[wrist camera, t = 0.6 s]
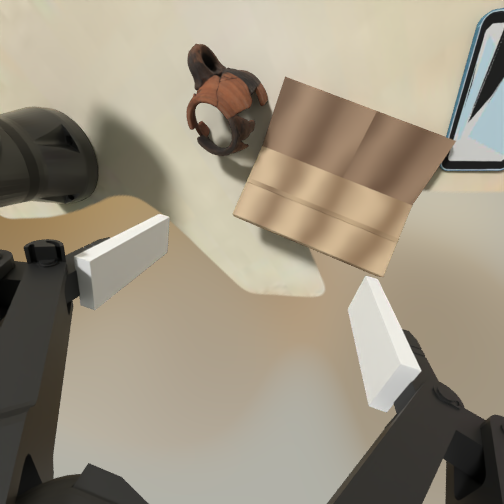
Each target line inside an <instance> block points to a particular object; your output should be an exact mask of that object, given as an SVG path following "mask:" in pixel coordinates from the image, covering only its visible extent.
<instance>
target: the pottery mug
mask: <svg viewBox="0 0 504 504" xmlns="http://www.w3.org/2000/svg"><path fill="white" fill-rule="evenodd" d="M188 66H189V69H190V72H191V74H192V76H193V78H194V82H195V89H196V90H198V91H197V94H195V93H194V95H193V98H192V99H191V101H190V102H189V105H188V107H187V121H188V125H189V128H190V129H191V130H192V129H194V128H196V130H197V132H198V134H199V135H200V137H198V138H197V140H198V143H199V144H200V145H201V146H202V147H203V148H204V149H205V150H207V151H208V152H210V153H212V154H214V155H219V156H226V155H229V154H232V153H236V152H238V151H241V150H243V149H245V148H247V147H249V145H248V144H244V143H243V142H242V140H245V139H246V138H247V137H248V136H249V135H250V133H251V132H252V131H253V130H254V128H255V121H254V120H250V121H248V120H246V119H244V118H242V117H240V116H239V115H237V114H238V113H240V112H242V111H243V110H245V109H248V108H250V107H251V104H252V98H251V95H252V94H253V92H254V91H255V92H256V94H257V97H258V99H259V102H260V105H261V106H263V105H265V103H266V102H267V100H268V98H267V94H266V91H265V89H264V87H263V85H262V84H261V82H260V81H259V79H258V78H257V77H256V76H255V75H253V74H251V73H250V72H248V71H244V70H236V69H230V68H227V69H226V67H224V66H223V65H222V64H221V63H220V62H219V61H218V59H217V57H216V56H215V54H214V53H213V52H212V51H211V50H210V49H209V48H208V47H207V46H206V45H203V44H195V45H194V46H193V47H192V49H191V50H190V51H189V53H188ZM199 103H208V104H211V105H213V106H215V107H217V108H218V109H219V110H220V111H221V112H222V113H223V115H224V116H225V117H226V119H227V120H228V122H229V125H230V127H231V131H232V142H231V144H230V146H229V147H227V148H220V147H218V146H216V145H215V144H214V143H213V142H212V141H211V140H210V138H209V137H208V135H209V131H210V130H209V128H208V127H207V125H206V124H205V123H204V122H203V121H201V122H199V124H198V123H197V120H196V116H195V109H196V106H197V105H198V104H199Z"/></svg>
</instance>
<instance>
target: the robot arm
mask: <svg viewBox="0 0 504 504" xmlns="http://www.w3.org/2000/svg"><path fill="white" fill-rule="evenodd" d="M97 178H98V167H97V161H96V157H95V154H94V151H93V148H92V146H91V144H90V142H89V140H88V138H87V137H86V135H85V134H84V132H83V131H82V130H81V129H80V127H79V126H78V125H77V124H76V123H75V122H74V121H73V120H72V119H70V118H69V117H68V116H66V115H65V114H63V113H61V112H59V111H57V110H54V109H50V108H42V107H26V108H22V109H18V110H15V111H11V112H7V113H3V114H0V207H4V206H8V205H13V204H17V203H22V202H27V201H38V202H50V203H62V204H66V203H73V202H77V201H81V200H84V199H86V198H87V197H89V196H90V195H91V194H92V192H93V191H94V189H95V186H96V183H97ZM169 220H170V217H168V216H165V215H162V214H158V215H156V216H154V217H152V218H150V219H148V220H146V221H144V222H142V223H140V224H138V225H136V226H134V227H132V228H130V229H128V230H126V231H124V232H122V233H120V234H118V235H116V236H114V237H112V238H110V237H108V238H104V239H99V240H97V241H95V242H93V243H91V244H88V245H86V246H84V248H83V247H82V248H80V249H78V250H76V251H74V252H72V253H70V254H68V255H66V256H65V252H64V246H63V243H62V242H60V241H57V240H49V239H46V240H37V241H33V242H31V243H28V244H26V245H25V246H24V251H25V255H26V259H27V262H18V261H14V259H13V255H12V253H11V252H9V251H6V250H0V504H148V503H147V502H146V501H145V500H144V499H143V498H142V497H141V496H140V495H139V494H138V493H137V492H136V491H135V490H134V489H133V488H132V487H131V486H130V485H129V484H128V483H127V482H126V481H125V480H124V479H123V478H122V477H120V476H117V475H115V474H113V473H111V472H108V471H106V470H103V469H101V468H99V467H96V466H94V465H91V464H89V463H88V465H87V466H86V468H85V469H84V471H83V472H82V474H76V475H67V476H63V477H59V478H55V479H53V474H54V471H53V452H54V444H55V436H56V429H57V422H58V414H59V407H60V399H61V391H62V385H63V378H64V370H65V362H66V356H67V348H68V341H69V333H70V325H71V319H72V311H73V301H72V300H74V299H75V298H77V297H78V296H79V297H80V304H81V306H84V307H87V308H90V309H93V310H96V309H97V308H98V307H99V306H101V305H102V304H103V303H105V302H106V301H107V300H108V299H110V298H111V297H112V296H113V295H115V294H116V293H117V292H118V291H120V290H121V289H122V288H123V287H125V286H126V285H127V284H128V283H130V282H131V281H132V280H133V279H135V278H136V277H137V276H138V275H140V274H141V273H142V272H143V271H144V270H146V269H147V268H148V267H150V266H151V265H152V264H154V263H155V262H156V261H157V260H159V259H160V258H161V257H162V256H164V255H165V254H166V253H167V251H168V234H169ZM348 312H349V317H350V322H351V326H352V331H353V335H354V340H355V345H356V349H357V354H358V358H359V363H360V368H361V372H362V377H363V382H364V387H365V391H366V395H367V401H368V405H369V406H370V407H373V408H376V409H379V410H381V411H384V412H387V411H388V410H389V409H390V408H391V407H392V405H393V404H394V406H395V409H396V413H397V414H396V415H395V416H394V418H393V419H392V420H391V421H390V422H389V423H388V424H387V426H386V427H385V429H384V430H383V432H382V433H381V434H380V436H379V437H378V438H377V440H376V441H375V442H374V444H373V445H372V446H371V447H370V449H369V450H368V451H367V453H366V454H365V455H364V456H363V458H362V459H361V460H360V462H359V463H358V464H357V465H356V467H355V468H354V469H353V471H352V472H351V473H350V474H349V476H348V477H347V478H346V480H345V481H344V482H343V484H342V485H341V486H340V488H339V489H338V490H337V491H336V493H335V494H334V495H333V497H332V498H331V499H330V500H329V502H328V503H327V504H422V503H423V501H424V498H425V496H426V494H427V492H428V490H429V488H430V485H431V483H432V481H433V479H434V477H435V474H436V472H437V470H438V468H439V466H440V463H441V461H442V459H445V460H446V461H447V462H446V504H504V417H502V416H499V415H492V416H491V417H489V418H488V419H487V420H484V419H482V418H481V417H479V416H477V415H475V414H473V413H472V412H470V411H468V410H466V409H465V408H464V405H463V403H462V402H461V400H460V398H459V397H458V396H457V395H456V393H454V392H453V391H452V390H451V389H450V388H449V387H447V386H446V385H444V384H443V383H441V382H439V381H438V379H437V377H436V376H435V374H434V372H433V370H432V368H431V366H430V364H429V363H428V360H427V358H425V355H424V353H423V351H422V350H421V347H420V345H419V343H418V341H417V340H416V339H415V338H414V336H413V335H412V334H411V333H410V332H409V331H407V330H403V329H401V327H400V325H399V322H398V321H397V318H396V316H395V314H394V312H393V310H392V308H391V305H390V303H389V301H388V299H387V297H386V295H385V293H384V291H383V289H382V287H381V284H380V282H379V280H378V279H376V278H373V277H369V276H365V277H364V279H363V281H362V283H361V285H360V287H359V289H358V291H357V293H356V295H355V297H354V298H353V300H352V302H351V304H350V306H349V308H348Z"/></svg>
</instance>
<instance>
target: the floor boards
mask: <svg viewBox="0 0 504 504" xmlns="http://www.w3.org/2000/svg"><path fill="white" fill-rule="evenodd" d="M455 142H456V141H455V140H452V139H450V138H447V137H444V136H442V135H439V134H436V133H434V132H431V131H428V130H426V129H423V128H420V127H418V126H415V125H412V124H410V123H407V122H404V121H402V120H399V119H396V118H394V117H391V116H388V115H386V114H383V113H380V112H378V111H375V110H372V109H370V108H367V107H364V106H362V105H359V104H356V103H354V102H351V101H348V100H346V99H343V98H340V97H338V96H335V95H333V94H330V93H327V92H325V91H322V90H319V89H317V88H314V87H311V86H309V85H306V84H303V83H301V82H298V81H295V80H293V79H290V78H287V77H285V79H284V82H283V85H282V88H281V91H280V94H279V97H278V100H277V103H276V106H275V109H274V112H273V115H272V118H271V121H270V124H269V127H268V130H267V133H266V136H265V139H264V142H263V145H262V146H264V147H266V148H269V149H271V150H274V151H276V152H279V153H281V154H284V155H287V156H289V157H292V158H294V159H297V160H299V161H302V162H304V163H307V164H309V165H312V166H314V167H317V168H319V169H322V170H324V171H327V172H329V173H332V174H334V175H337V176H339V177H342V178H344V179H347V180H350V181H352V182H355V183H357V184H360V185H362V186H365V187H367V188H370V189H372V190H375V191H377V192H380V193H382V194H385V195H387V196H390V197H392V198H395V199H397V200H400V201H402V202H405V203H407V204H410V205H413V203H414V202H415V200H416V199H417V198H418V196H419V195H420V193H421V192H422V190H423V189H424V187H425V186H426V184H427V183H428V182H429V180H430V179H431V177H432V176H433V174H434V173H435V171H436V170H437V168H438V167H439V166H440V164H441V163H442V161H443V160H444V158H445V157H446V155H447V154H448V152H449V151H450V149H451V148H452V147H453V145H454V144H455Z"/></svg>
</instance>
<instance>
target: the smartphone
mask: <svg viewBox="0 0 504 504" xmlns="http://www.w3.org/2000/svg"><path fill="white" fill-rule="evenodd" d="M446 137H447V138H450V139H452V140H455V141H456V142H455V144H454V145H453V147H452V148H451V149H450V151H449V152H448V154H447V155H446V157H445V158H444V160H443V161H442V163H441V164H440V168H441V169H443V170H446V171H500V170H504V8H501V9H495V10H492V11H490V12H489V13H487V14H486V15H485V16H483V17H482V18H481V20H480V21H479V22H478V24H477V27H476V30H475V34H474V37H473V41H472V45H471V48H470V52H469V55H468V59H467V63H466V66H465V70H464V74H463V77H462V81H461V85H460V88H459V92H458V95H457V99H456V103H455V106H454V110H453V114H452V117H451V121H450V125H449V128H448V132H447V136H446Z"/></svg>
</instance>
